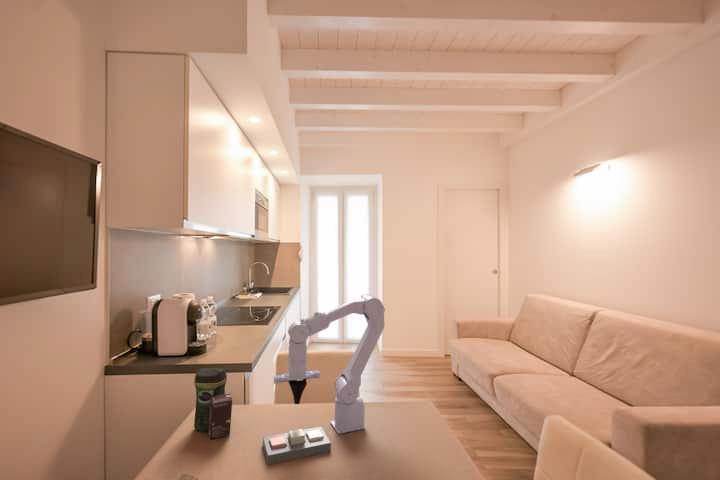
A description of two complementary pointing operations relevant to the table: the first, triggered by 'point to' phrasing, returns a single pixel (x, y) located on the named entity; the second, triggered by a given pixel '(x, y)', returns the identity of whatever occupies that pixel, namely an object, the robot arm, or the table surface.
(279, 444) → the terracotta key
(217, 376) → the coffee jar
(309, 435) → the cream key
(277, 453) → the keypad
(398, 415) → the table surface
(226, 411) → the box
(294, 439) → the sage key
